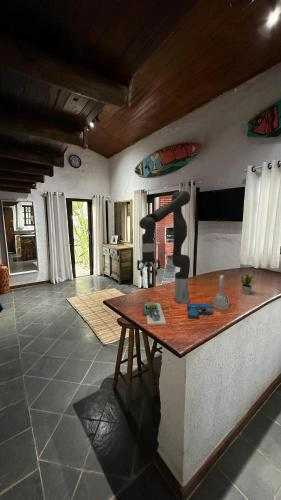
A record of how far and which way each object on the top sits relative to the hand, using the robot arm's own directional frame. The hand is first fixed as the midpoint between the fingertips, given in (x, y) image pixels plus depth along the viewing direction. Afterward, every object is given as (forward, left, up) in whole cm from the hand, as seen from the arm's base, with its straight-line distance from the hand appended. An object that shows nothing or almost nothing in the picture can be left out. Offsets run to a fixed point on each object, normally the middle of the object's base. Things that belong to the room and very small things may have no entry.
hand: (148, 276), depth 131 cm
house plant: (-77, -24, -23) cm, 83 cm away
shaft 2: (-2, +13, -22) cm, 25 cm away
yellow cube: (-1, +4, -21) cm, 21 cm away
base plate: (-3, +5, -22) cm, 23 cm away
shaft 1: (-1, -4, -22) cm, 22 cm away
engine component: (-48, -4, -23) cm, 53 cm away
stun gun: (-30, +7, -23) cm, 38 cm away
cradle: (-1, +4, -22) cm, 22 cm away
